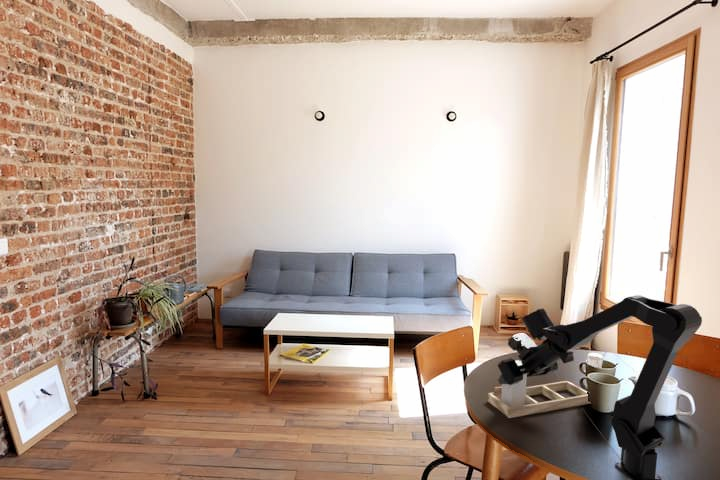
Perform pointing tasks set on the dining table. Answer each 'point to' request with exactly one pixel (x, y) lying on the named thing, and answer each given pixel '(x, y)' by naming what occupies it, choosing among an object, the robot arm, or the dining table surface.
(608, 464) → the dining table surface
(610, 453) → the dining table surface
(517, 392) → the pale grey upright block
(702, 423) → the dining table surface
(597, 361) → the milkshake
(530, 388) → the organiser
